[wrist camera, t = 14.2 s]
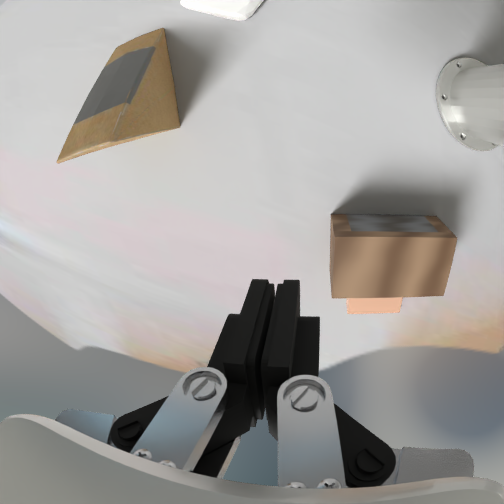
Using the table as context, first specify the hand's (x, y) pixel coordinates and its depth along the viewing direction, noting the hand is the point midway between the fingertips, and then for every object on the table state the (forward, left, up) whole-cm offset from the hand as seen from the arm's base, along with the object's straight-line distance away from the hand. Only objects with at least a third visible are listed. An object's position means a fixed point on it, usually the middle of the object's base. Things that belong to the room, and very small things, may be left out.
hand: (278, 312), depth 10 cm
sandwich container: (+19, -14, -28) cm, 37 cm away
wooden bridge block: (-11, +10, -27) cm, 31 cm away
